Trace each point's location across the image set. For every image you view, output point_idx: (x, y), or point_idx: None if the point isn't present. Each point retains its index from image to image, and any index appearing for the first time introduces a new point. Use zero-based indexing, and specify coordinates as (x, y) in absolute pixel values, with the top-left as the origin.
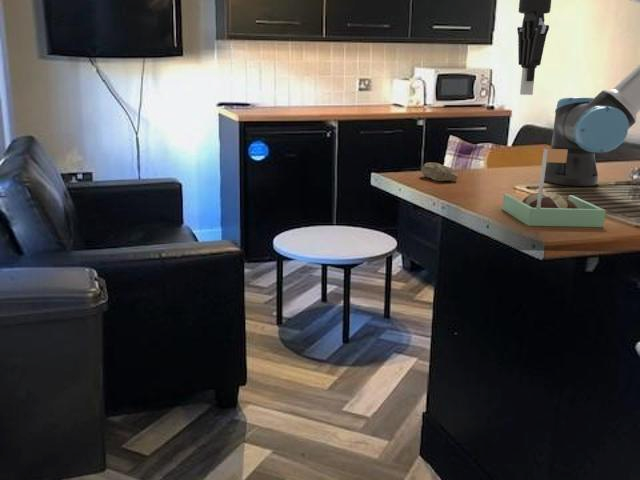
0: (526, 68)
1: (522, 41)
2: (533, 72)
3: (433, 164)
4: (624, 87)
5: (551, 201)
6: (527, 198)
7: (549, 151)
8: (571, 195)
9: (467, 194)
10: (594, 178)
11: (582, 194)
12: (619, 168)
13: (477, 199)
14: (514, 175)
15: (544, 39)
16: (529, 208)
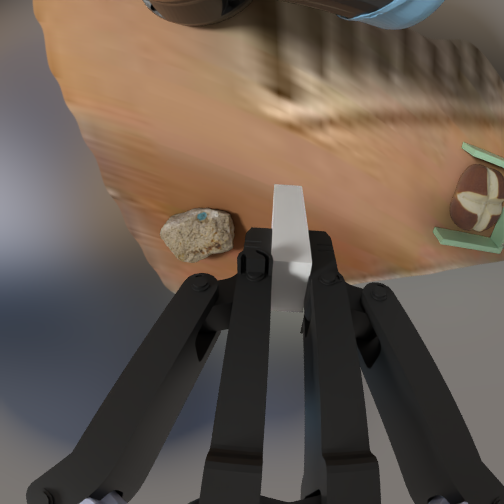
0: (302, 304)
1: (157, 445)
2: (334, 265)
3: (195, 254)
4: None
5: (497, 217)
6: (471, 229)
7: None
8: (475, 152)
9: (338, 234)
10: None
11: (350, 20)
12: None
13: (374, 235)
14: (134, 65)
15: (465, 436)
16: (499, 253)
